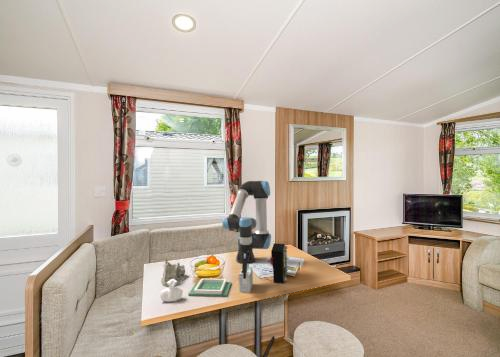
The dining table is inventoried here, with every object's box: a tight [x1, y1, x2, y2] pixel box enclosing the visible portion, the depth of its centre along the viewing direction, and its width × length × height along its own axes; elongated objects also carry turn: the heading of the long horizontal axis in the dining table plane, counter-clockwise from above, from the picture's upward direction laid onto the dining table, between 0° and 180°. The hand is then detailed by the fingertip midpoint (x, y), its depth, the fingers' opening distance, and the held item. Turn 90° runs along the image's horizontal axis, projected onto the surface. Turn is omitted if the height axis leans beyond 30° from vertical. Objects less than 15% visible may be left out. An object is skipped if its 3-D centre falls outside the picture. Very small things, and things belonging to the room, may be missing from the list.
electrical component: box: [269, 243, 288, 284], centre depth 150 cm, size 18×10×20 cm, turn 168°
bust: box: [159, 279, 184, 303], centre depth 124 cm, size 12×8×11 cm
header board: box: [188, 277, 232, 298], centre depth 134 cm, size 16×22×3 cm
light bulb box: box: [238, 266, 254, 293], centre depth 135 cm, size 11×7×11 cm, turn 170°
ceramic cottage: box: [160, 257, 186, 288], centre depth 147 cm, size 16×16×15 cm
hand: (245, 278), depth 135 cm, fingers open, 13 cm apart
